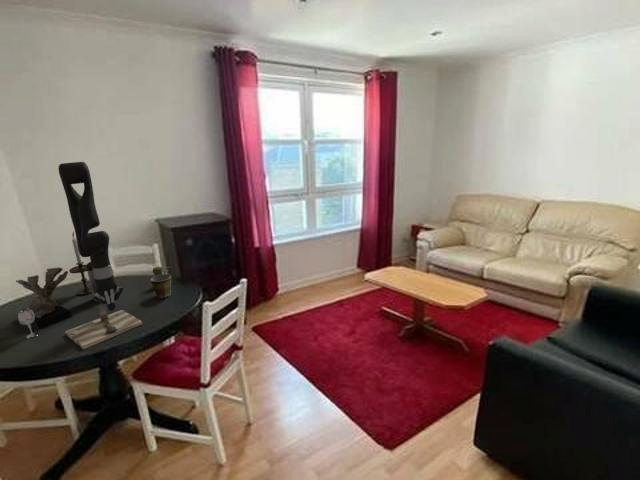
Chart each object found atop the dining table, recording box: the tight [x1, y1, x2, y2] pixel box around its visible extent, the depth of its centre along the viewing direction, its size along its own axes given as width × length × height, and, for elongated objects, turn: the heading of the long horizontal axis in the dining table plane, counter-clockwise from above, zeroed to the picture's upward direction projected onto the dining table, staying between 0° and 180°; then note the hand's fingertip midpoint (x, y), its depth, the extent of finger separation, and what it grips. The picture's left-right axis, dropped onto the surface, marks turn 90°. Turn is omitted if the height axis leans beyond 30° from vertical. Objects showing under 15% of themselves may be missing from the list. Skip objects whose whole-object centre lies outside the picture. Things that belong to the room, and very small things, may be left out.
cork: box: [152, 266, 164, 277], centre depth 204 cm, size 6×6×11 cm
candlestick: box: [68, 230, 93, 297], centre depth 197 cm, size 11×11×35 cm
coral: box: [15, 267, 73, 330], centre depth 175 cm, size 25×20×22 cm
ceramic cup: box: [150, 273, 172, 299], centre depth 192 cm, size 13×10×10 cm
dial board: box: [64, 309, 143, 350], centre depth 160 cm, size 20×24×2 cm
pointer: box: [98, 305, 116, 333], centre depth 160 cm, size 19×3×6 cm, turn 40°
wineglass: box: [17, 307, 40, 339], centre depth 157 cm, size 6×6×12 cm
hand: (112, 310), depth 167 cm, fingers closed
